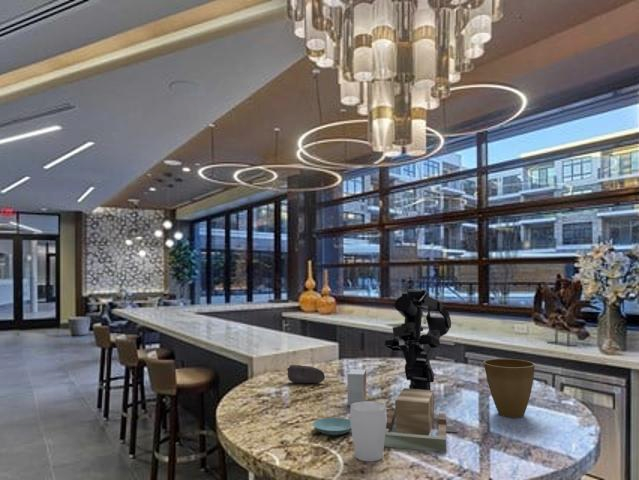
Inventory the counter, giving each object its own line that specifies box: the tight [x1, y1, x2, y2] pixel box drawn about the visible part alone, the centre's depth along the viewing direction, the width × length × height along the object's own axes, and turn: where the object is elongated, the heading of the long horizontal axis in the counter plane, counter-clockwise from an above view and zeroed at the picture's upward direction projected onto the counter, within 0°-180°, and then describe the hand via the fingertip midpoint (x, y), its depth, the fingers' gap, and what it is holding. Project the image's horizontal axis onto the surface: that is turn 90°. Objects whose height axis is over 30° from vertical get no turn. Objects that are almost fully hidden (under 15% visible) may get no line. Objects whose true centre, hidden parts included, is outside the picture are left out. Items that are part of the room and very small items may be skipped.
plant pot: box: [483, 358, 536, 419], centre depth 149 cm, size 15×15×16 cm
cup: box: [349, 400, 387, 463], centre depth 116 cm, size 9×9×12 cm
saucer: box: [312, 417, 352, 436], centre depth 134 cm, size 12×12×2 cm
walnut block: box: [394, 387, 435, 436], centre depth 138 cm, size 14×9×9 cm, turn 160°
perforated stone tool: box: [286, 364, 326, 384], centre depth 191 cm, size 15×5×7 cm, turn 77°
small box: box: [347, 368, 367, 407], centre depth 163 cm, size 8×6×10 cm
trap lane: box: [384, 409, 458, 453], centre depth 133 cm, size 26×23×3 cm
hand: (409, 368), depth 156 cm, fingers closed
